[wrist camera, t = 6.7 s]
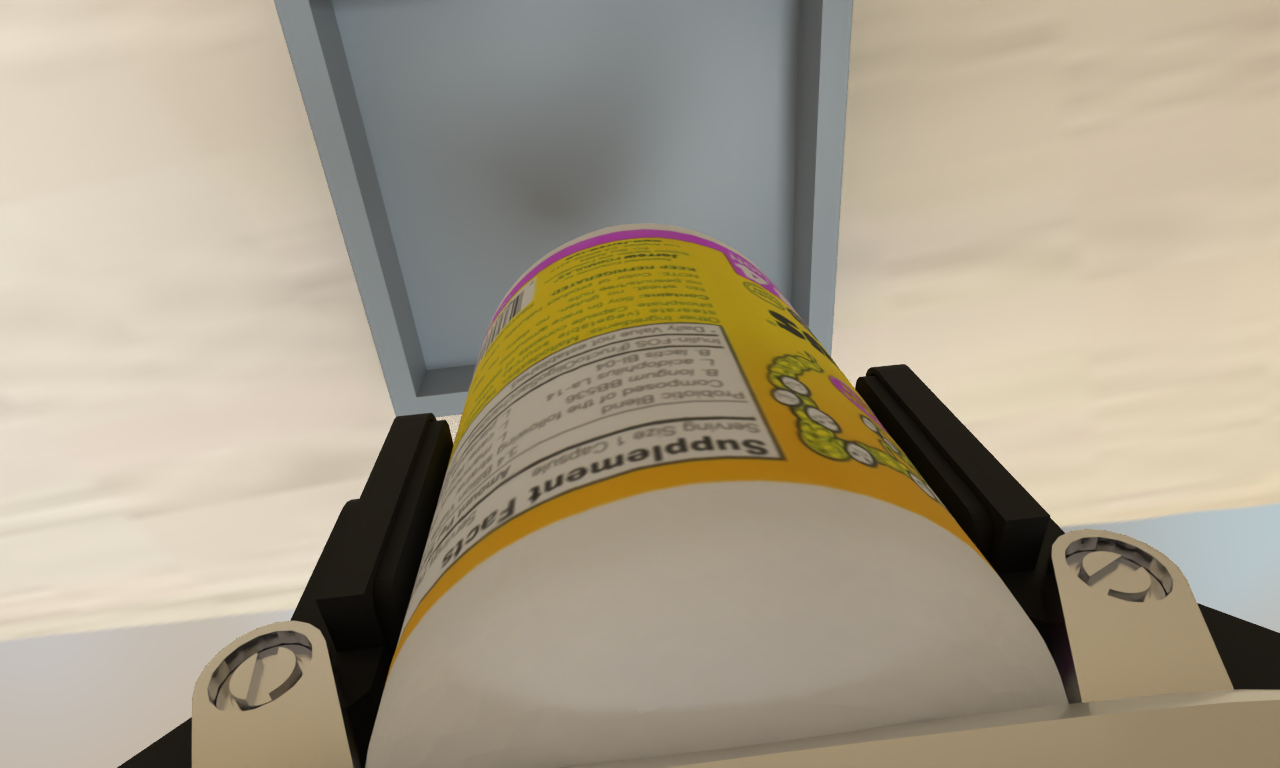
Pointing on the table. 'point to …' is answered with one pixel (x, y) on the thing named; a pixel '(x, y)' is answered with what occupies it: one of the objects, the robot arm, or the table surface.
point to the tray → (564, 149)
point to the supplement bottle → (682, 536)
